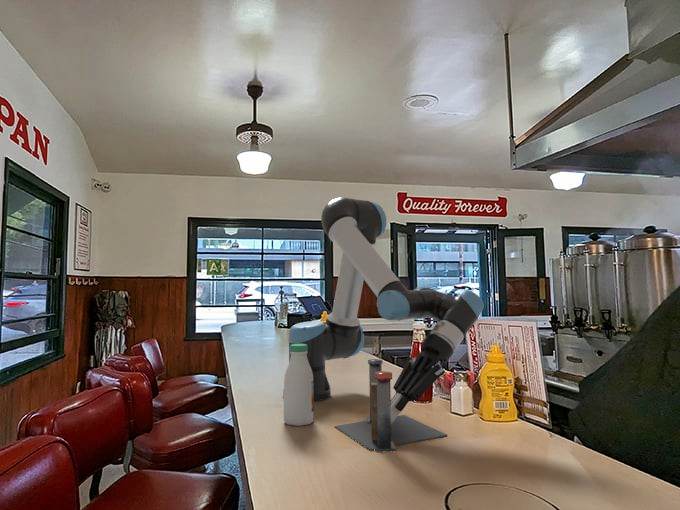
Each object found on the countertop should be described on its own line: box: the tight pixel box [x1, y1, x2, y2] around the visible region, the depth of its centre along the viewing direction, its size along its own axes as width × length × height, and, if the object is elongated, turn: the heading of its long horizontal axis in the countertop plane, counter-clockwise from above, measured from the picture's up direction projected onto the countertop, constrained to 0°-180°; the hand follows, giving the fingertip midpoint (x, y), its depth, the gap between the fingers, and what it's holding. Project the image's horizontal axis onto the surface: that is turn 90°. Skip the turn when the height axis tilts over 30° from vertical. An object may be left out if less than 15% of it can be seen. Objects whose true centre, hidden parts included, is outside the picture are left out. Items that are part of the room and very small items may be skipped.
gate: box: [371, 383, 377, 440], centre depth 108 cm, size 14×2×12 cm, turn 176°
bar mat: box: [334, 414, 448, 451], centre depth 110 cm, size 18×21×1 cm
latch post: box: [373, 370, 397, 453], centre depth 99 cm, size 4×4×16 cm
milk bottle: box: [283, 344, 315, 427], centre depth 118 cm, size 8×8×20 cm
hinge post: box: [366, 358, 384, 423], centre depth 118 cm, size 4×4×16 cm
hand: (386, 419), depth 105 cm, fingers closed
